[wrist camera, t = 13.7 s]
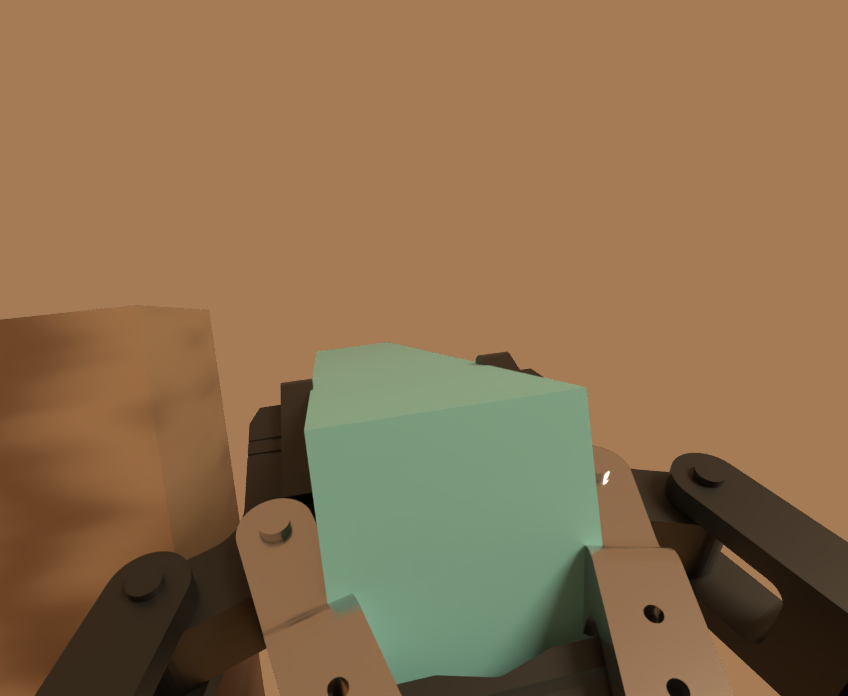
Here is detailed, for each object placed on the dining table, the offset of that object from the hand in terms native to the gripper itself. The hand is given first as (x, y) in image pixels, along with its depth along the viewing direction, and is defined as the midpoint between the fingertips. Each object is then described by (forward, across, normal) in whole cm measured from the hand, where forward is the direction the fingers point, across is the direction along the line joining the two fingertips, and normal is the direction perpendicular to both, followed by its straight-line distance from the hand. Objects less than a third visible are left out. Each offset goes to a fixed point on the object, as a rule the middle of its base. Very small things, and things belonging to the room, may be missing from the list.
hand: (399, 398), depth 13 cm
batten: (+4, 0, -6) cm, 7 cm away
